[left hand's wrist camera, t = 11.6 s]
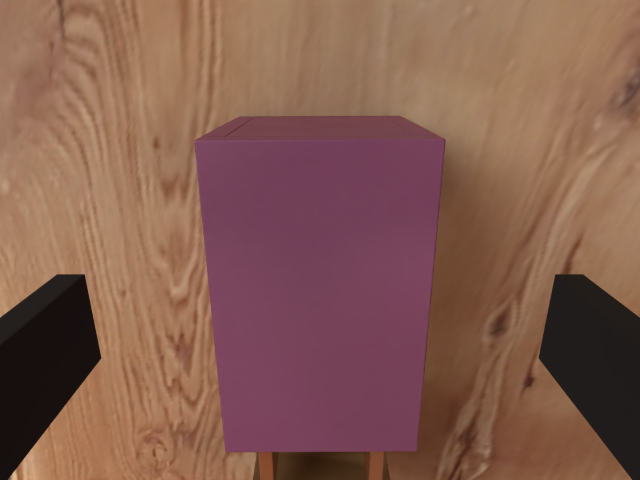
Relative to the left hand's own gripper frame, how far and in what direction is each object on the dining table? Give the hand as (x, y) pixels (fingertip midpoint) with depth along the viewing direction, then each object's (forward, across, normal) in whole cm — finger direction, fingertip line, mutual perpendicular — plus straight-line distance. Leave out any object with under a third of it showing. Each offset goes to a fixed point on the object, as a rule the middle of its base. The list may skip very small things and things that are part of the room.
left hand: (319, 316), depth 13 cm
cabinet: (+18, 0, -4) cm, 19 cm away
